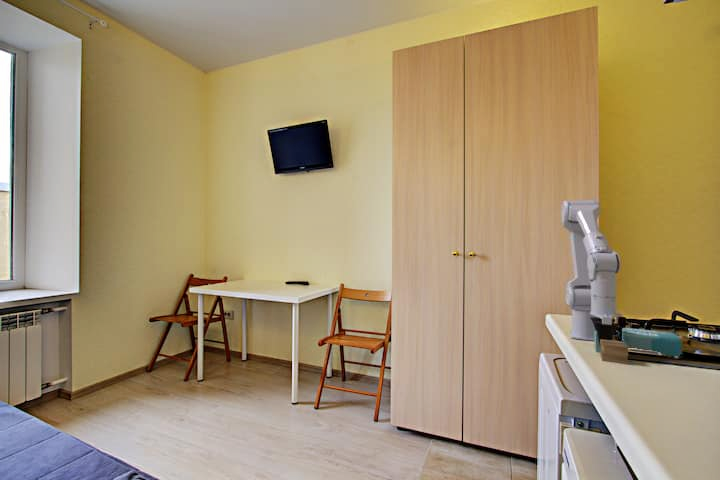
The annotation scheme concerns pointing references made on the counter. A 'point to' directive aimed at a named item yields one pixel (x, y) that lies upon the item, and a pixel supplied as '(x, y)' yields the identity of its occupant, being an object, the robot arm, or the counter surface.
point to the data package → (652, 341)
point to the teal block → (596, 342)
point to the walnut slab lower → (614, 358)
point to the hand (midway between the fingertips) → (603, 346)
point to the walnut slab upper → (614, 347)
